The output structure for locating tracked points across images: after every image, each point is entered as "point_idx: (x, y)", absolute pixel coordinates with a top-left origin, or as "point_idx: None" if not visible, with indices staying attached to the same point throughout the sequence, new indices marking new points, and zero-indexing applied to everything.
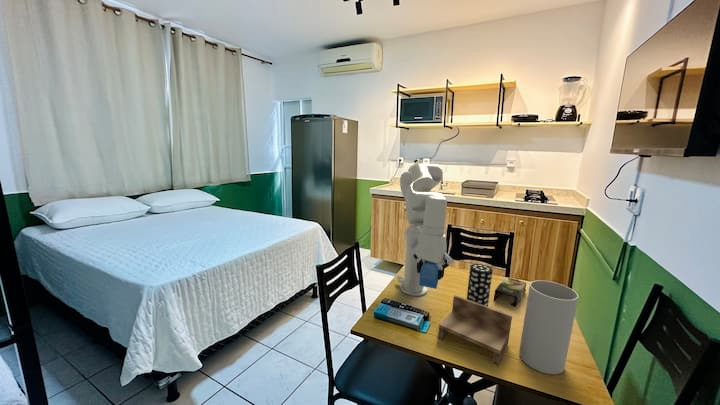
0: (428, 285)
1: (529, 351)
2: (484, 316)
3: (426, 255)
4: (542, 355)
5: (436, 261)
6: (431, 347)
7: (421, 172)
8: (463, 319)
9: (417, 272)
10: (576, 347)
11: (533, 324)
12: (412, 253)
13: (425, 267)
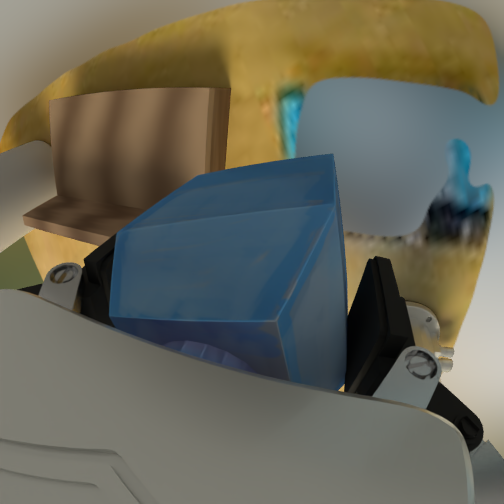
0: (253, 168)
1: (25, 153)
2: (90, 211)
3: (160, 472)
4: (8, 150)
5: (10, 308)
6: (233, 34)
7: None
8: (151, 181)
9: (385, 258)
10: (35, 254)
11: None
12: (495, 451)
13: (257, 252)
